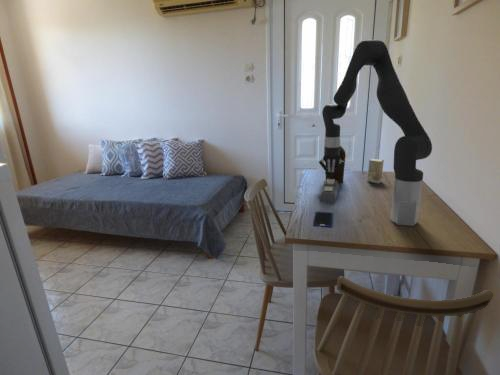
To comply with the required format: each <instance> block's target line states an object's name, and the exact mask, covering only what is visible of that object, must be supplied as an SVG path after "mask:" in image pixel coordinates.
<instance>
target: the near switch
mask: <svg viewBox="0 0 500 375" xmlns="http://www.w3.org/2000/svg"><path fill="white" fill-rule="evenodd" d="M332 190H333V187H332V186H325V188H324V191H332Z"/></svg>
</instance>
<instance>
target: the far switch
mask: <svg viewBox="0 0 500 375" xmlns="http://www.w3.org/2000/svg"><path fill="white" fill-rule="evenodd" d="M334 182H335V179H329V178H328V179H327V184H334Z"/></svg>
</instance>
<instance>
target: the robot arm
mask: <svg viewBox="0 0 500 375" xmlns="http://www.w3.org/2000/svg"><path fill="white" fill-rule="evenodd" d="M364 66H372V67H373V68H374V70H375V72H376V75H377V79H378V81H377V87H376V97H377V98H376V99H377V100H378V103H379V104H380V107H381V110H382V111H383V113H384V114H385V115H386V116H387V117H388V118H389V119H390V120H391V121H393V122H394V123H395V124H396V125H397V126H398V127H399V128H400V129H401V131H402V133H403V134H404V135H403V136H401V137H399V138H398V139H397V140H396V142H395V145H394V150H393V172H394V180H393V181H394V182H393V183H394V184H393V191H392V201H391V213H390V220H391V222H393V223H395V225H399V226H407V227H408V226H411V227H415V225H416V224H417V223H418V216H419V210H420V202H421V195H422V194H421V193H422V187H423V179H424V172H423V171H422V170H420V169H418V168H417V161H419V160H424V159H427V158H428V157H429V156H430V155H431V154H432V151H433V144H432V141H431V138H430V137H429V134H428V133H427V132H426V130H425V128H424V127H423V125H422V124H421V122H420V121H419V119H418V117H417V115H416V113H415V111H414V109H413V107H412V105H411V103H410V101H409V98H408V95H407V94H406V91H405V89H404V87H403V85H402V83H401V81H400V79H399V78H398V75H397V72H396V70H395V68H394V65H393V62H392V59H391V56H390V52H389V49H388V47H387V45H386V43H385V42H384V41H383V40H379V39H364V40H363V39H362V40H361V41H360V42H359V43H358V44H357V45H356V47H355V49H354V51H353V53H352V56H351V57H350V60H349V63H348V67H347V69H346V72H345V75H344V77H343V79H342V81H341V83H340V84H339V87H338V89H337V90H336V92H335V94H334V96H333V101H334V102H333V103H332V104H330V103H329V104H325V105H324V107H323V108H322V112H321V115H322V120H323V123H324V124H323V125H324V127H325V128H324V129H325V130H324V131H325V133H324V134H325V136H324V146H323V147H324V150H323V157H322V159H319V162H318V163H319V164H320V166H321V168H323V170H324V171H328V178H329V179H332V178H333V177H334V172H335V171H338V170H339V168H340V167H341V166H342V165H343V164H344V161H342V160H341V159H340V146H341V126H340V124H339V123H335V122H334V120H337V119H339V120H340V119H341V118H342V117H344V115H345V114H346V111H347V107H348V105H349V104H348V103H349V102H350V100H351V99H352V97H353V95H354V93H355V92H356V90H357V79H358V75H359V73H360V71H361V70H362V68H364ZM339 161H340V162H339ZM338 162H339V165H338V166H337V167H336V168H335V165H336V164H337V163H338ZM326 164H327V165H328V168H327V167H326ZM331 165H332V171H331Z"/></svg>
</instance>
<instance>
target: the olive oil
mask: <svg viewBox="0 0 500 375" xmlns="http://www.w3.org/2000/svg"><path fill="white" fill-rule="evenodd" d="M340 159H341V160H342V161H344V164H343V165H342V166H341V167H340V168H339V170H338V171H335V172H334V177H333V178H332V179H335V180H337V181H338V185H340V184H342V183H343V182H344V173H345V164H346V151H345V149H344V148H343V147H342V145H340ZM339 162H340V161H339ZM339 162H338V163H337V164H336V165H335V168H336V167H337V166H338V165H339ZM325 166H326V167H327V168H328V165H327V164H326V163H325ZM324 171H325V170H324ZM331 171H332V165H331ZM324 173H325V180H327V179H328V171H325V172H324Z"/></svg>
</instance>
